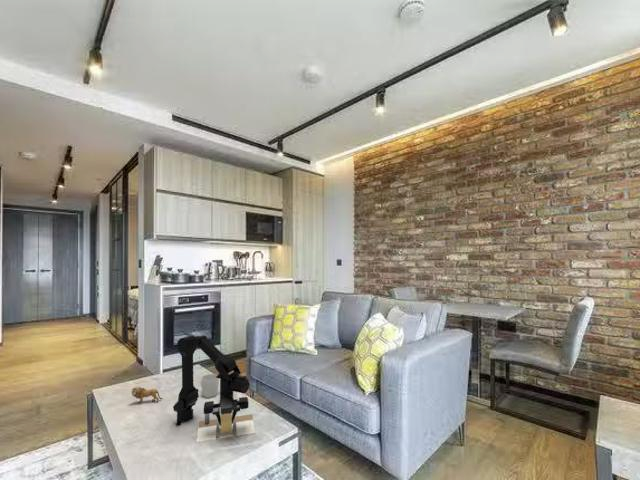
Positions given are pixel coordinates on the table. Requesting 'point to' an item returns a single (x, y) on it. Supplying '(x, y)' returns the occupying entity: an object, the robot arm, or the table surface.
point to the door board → (215, 431)
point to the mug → (209, 385)
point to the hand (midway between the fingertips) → (226, 424)
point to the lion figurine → (145, 394)
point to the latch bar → (226, 423)
